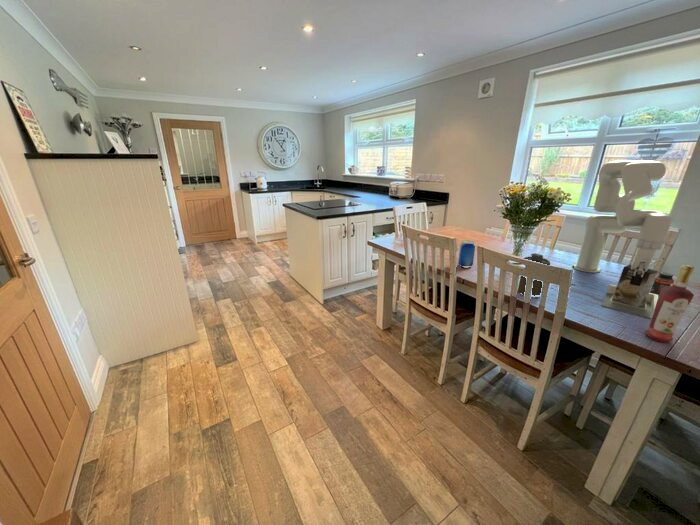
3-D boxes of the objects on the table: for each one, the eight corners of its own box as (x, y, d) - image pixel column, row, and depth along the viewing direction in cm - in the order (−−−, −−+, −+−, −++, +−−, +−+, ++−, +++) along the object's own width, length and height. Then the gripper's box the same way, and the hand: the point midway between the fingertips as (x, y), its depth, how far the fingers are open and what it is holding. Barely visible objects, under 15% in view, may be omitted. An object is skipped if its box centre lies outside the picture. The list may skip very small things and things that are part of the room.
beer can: (459, 268, 167) (462, 243, 162) (456, 264, 175) (459, 239, 169) (474, 269, 166) (477, 244, 160) (470, 264, 173) (473, 240, 168)
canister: (512, 291, 137) (519, 253, 130) (526, 287, 141) (534, 250, 134) (533, 300, 128) (542, 260, 121) (548, 295, 132) (557, 256, 125)
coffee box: (611, 298, 126) (622, 266, 120) (620, 295, 128) (631, 263, 123) (637, 307, 118) (650, 273, 112) (645, 304, 120) (658, 270, 114)
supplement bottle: (671, 299, 125) (681, 276, 121) (655, 298, 126) (664, 276, 122) (660, 293, 130) (669, 271, 126) (645, 292, 131) (653, 271, 127)
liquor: (650, 342, 97) (680, 269, 88) (638, 330, 104) (665, 261, 94) (677, 346, 95) (712, 271, 85) (664, 334, 101) (694, 263, 91)
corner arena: (606, 292, 133) (609, 284, 131) (654, 303, 122) (658, 294, 120) (601, 306, 121) (604, 297, 120) (653, 319, 110) (658, 310, 109)
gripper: (637, 237, 121) (625, 273, 128) (635, 246, 110) (621, 285, 117) (662, 240, 116) (648, 277, 122) (662, 250, 105) (646, 290, 111)
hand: (635, 281), depth 119 cm, fingers open, 9 cm apart
